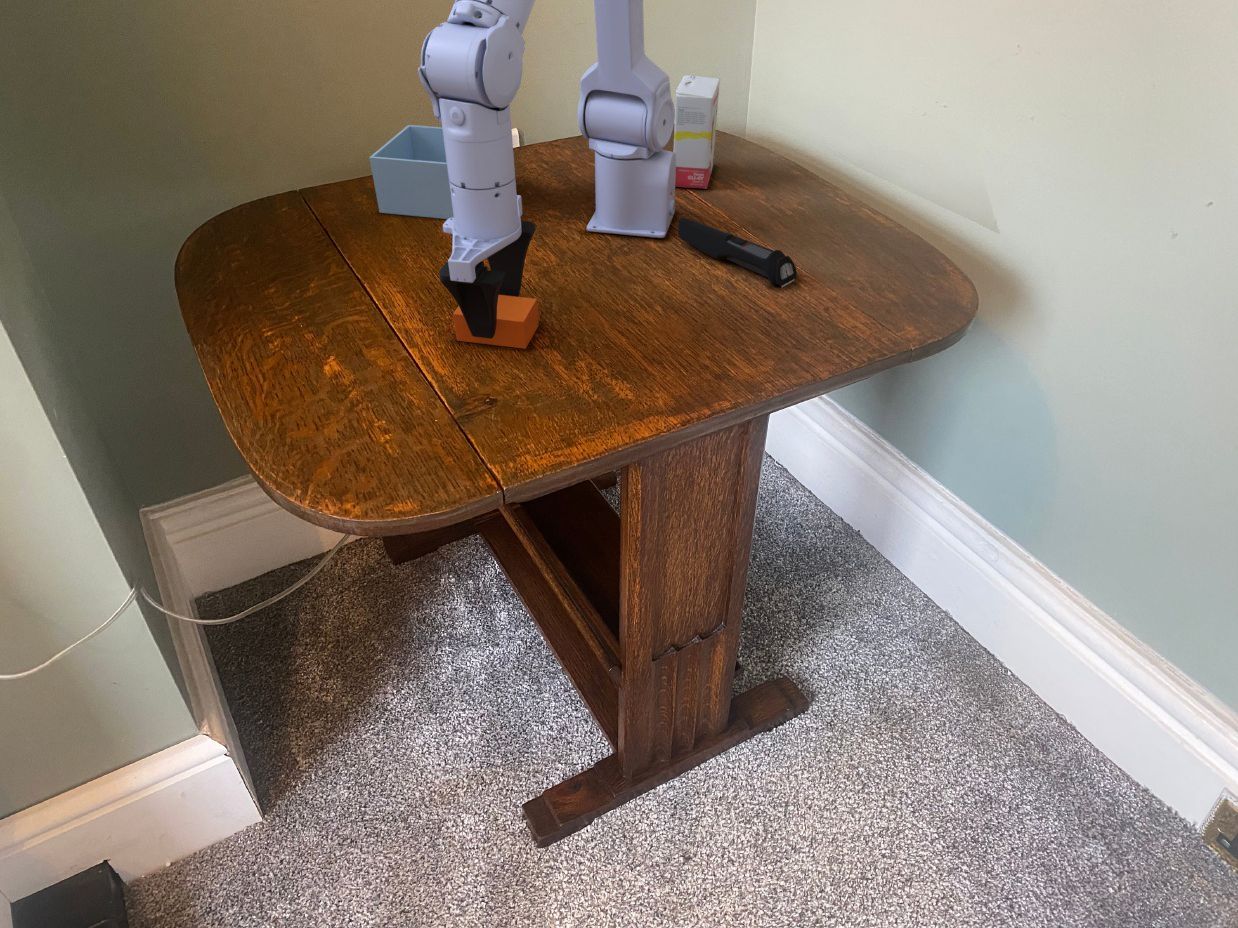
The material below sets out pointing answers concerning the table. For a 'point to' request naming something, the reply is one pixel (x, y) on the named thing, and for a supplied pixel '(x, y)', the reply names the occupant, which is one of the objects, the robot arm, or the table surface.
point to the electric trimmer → (738, 251)
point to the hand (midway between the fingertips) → (496, 315)
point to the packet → (505, 323)
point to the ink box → (695, 130)
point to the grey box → (413, 174)
